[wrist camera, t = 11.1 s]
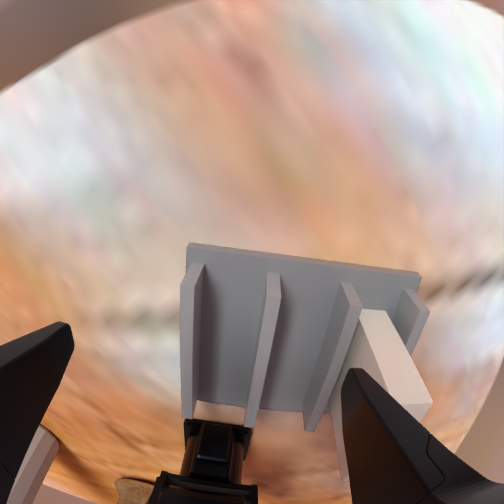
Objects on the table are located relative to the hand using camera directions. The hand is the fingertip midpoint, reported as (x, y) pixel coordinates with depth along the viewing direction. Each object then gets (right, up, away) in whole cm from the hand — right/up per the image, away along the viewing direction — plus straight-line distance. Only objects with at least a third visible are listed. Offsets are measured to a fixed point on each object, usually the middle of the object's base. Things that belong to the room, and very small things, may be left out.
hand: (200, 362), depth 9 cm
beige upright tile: (+9, -4, +13) cm, 17 cm away
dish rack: (+5, -4, +14) cm, 15 cm away
